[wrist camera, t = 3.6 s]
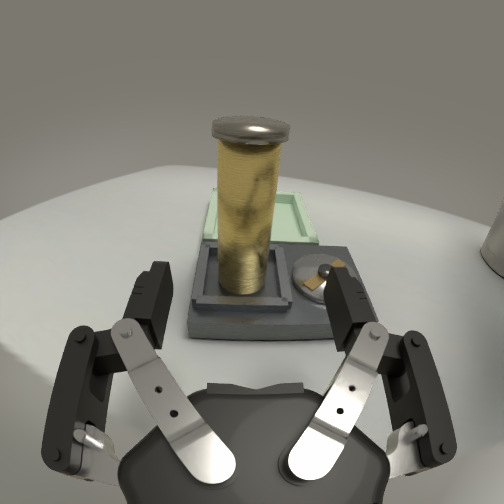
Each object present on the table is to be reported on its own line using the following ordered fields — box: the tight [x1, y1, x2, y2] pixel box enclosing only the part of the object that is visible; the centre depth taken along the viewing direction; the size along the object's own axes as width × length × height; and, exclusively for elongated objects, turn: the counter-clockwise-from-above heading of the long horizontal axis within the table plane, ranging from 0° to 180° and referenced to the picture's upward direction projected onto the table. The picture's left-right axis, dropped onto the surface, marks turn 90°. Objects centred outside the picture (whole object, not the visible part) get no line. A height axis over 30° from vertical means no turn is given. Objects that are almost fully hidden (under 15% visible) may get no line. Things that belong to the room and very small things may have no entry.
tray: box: [202, 188, 319, 246], centre depth 33 cm, size 12×12×2 cm
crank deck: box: [187, 241, 378, 340], centre depth 24 cm, size 15×10×3 cm, turn 92°
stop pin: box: [212, 116, 290, 294], centre depth 20 cm, size 5×5×13 cm
